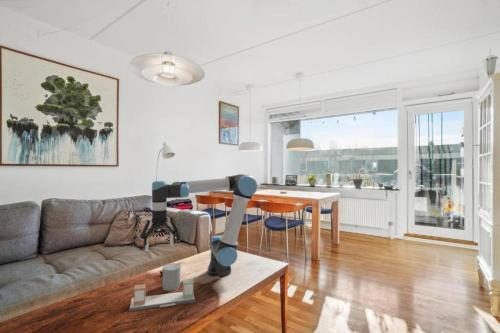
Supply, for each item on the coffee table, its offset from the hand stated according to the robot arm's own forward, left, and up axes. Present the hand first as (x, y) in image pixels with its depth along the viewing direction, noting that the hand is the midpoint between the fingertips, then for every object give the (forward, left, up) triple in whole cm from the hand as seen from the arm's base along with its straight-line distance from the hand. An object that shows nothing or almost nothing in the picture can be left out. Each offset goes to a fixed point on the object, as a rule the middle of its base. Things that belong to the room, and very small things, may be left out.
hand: (159, 248), depth 142 cm
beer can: (-6, +1, -23) cm, 24 cm away
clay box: (+9, +14, -22) cm, 27 cm away
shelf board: (-2, +14, -23) cm, 27 cm away
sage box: (-14, +14, -22) cm, 29 cm away
